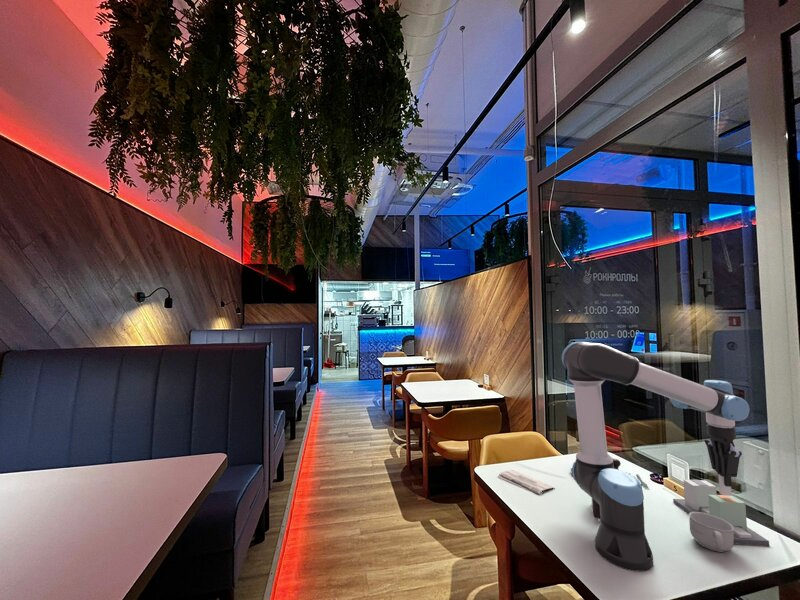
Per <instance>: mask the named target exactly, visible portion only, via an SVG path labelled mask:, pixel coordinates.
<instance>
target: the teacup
mask: <svg viewBox="0 0 800 600" xmlns="http://www.w3.org/2000/svg"><path fill="white" fill-rule="evenodd" d="M688 516H689V532H690V534H691V536H692V538H694V539H695V540H696V542H697V543H698V544H699V545H701V546H702V547H704V548H706V549H709V550H711V551H713V552H714V551H715V552H718V553H719V552H720V553H723V552H727V551H730V550H732V549H733V548H734V547H733V546H734V544H733V541H734V527H733V526H732V525H731V524H730V523H728V522H727V521H725V520H723V519H721V518H718V517H716V516H713V515H710V514H707V513H702V512H691V513H689V514H688Z"/></svg>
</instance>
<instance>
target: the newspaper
mask: <svg viewBox="0 0 800 600" xmlns="http://www.w3.org/2000/svg"><path fill="white" fill-rule="evenodd" d="M497 477H498V478H500V479H502V480H505V481H506V482H510V483H511V484H514V485H516V486H518V487H520V488H522V489H524V490H525V491H527V492H531V493H535V494H537V495H543V494H544V493H543V492H544V491H546V490H549V489H552V488H554V490H555V489H556V488H555V487H554V486H551V485H549V484H546V483H544V482H541V481H539V480H537V479H534V478H533V477H530V476H527V475H525V474H523V473H520V472H518V471H516V470H512V469H511V470H506V471H503V472H500V473H498V476H497ZM541 491H543V492H541Z"/></svg>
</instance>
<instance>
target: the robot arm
mask: <svg viewBox="0 0 800 600" xmlns="http://www.w3.org/2000/svg"><path fill="white" fill-rule="evenodd" d="M561 362H562V365H563V366H564V368H565V369H566V370H567V375H568V381H570V382H571V383H572V384H573V389H574V390H573V391H574V399H575V400H574V401H575V411H576V419H577V422H576V423H577V431H578V441H579V451H578V452H577V453H576V454H575V461H574V462H573V463H572V467H571V468H572V472H571V473H572V477H573V479H574V481H575V483H576V484H577V485H578V487H579V488H580V489H581V490H582V491H583V492H584V493H585V494H587V495H588V496H589V497H590V498H591V499H592V498H593V499H594V500H595V501H596V502H597V503H598V504H599V505H600V519H599V520H600V522H599V525H598V527H597V528H598V529H597V532H596V534H595V537H594V547H595V550H596V552H597V553H598V554H599V556H600V557H602V558H603V559H604V560H606V561H607V562H608V563H610V564H613V565H615V566H617V567H619V568H622V569H625V570H630V571H633V572H644V571H645V572H647V571H649V570H651V569H652V568H653V567H654V554H653V552H652V551H653V550H652V548H651V546H650V543H649V540H648V539H647V538H648V537H647V536H646V533H645V532H646V530H645V509H644V508H645V507H644V506H645V505H644V499H645V498H644V497H645V496H644V492H643V486H642V485H641V481H640V480H639V479H638V478H637V477H635V476H634V475H632V474H631V473H630V472H627V471H626V472H625V471H623V470H622V469H619V468H618V469H619V470H618V469H614V462H613V459H614V458H613V457H612V456H611V455H610V454H609V453H608V445H607V435H606V426H605V425H606V423H605V416H604V413H605V412H604V406H603V405H604V404H603V396H602V385H603V383H604V382H605V381H610V382H611V381H612V382H615V383H619V384H621V385H625V386H629V385H633V386H636V387H638V388H641V389H644V390H646V391H649V392H652V393H654V394H658V395H661V396H662V397H666V398H668V399H669V401H670V403H671V404H672V405H673V407H675V408H677V409H684V410H687V409H692V410H695V411H699V412H702V413H705V422H706V423H707V424H706V433H707V435H708V436H709V439H704V443H705V445H706V448H707V453H708V456H709V461H710V465H711V469H712V470H715V472H716V473H717V482H718V488H719V489H718V490H719V495H727V496H733V494H732V478H737V476H738V473H739V472H738V471H739V467H740V466H739V465H740V459H741V457H742V455H743V452H742V451H740V450H737V449H736V448H735V447H736V445H735V443H734V440H736V438H737V430H736V427H735V426H736V422H740V421H744V420H745V419H747V417H749V414H750V405H749V403H748V402H747V401H746V399H744V398H742V397H739V396H736V395H734V394H735V393H734V389H733V385H732V383H731V382H728V381H726V380H718V379H705V380H704V381H703V384H701V383H697V382H695V381H692V380H689V379H686V378H683V377H681V376H679V375H676V374H672V373H671V372H667V371H665V370H663V369H660V368H657V367H653V366H651V365H649V364H645V363H643V362H640V361H639V359H638V358H637V357H636V356H633V355H630V354H627V353H625V352H623V351H621V350H619V349H616V348H613V347H612V346H610V345H609V346H608V345H606V344H603V343H598V342H588V341H575V342H572V343H569V344H568V345H567V346H566V347H565V348H564V349H563V351H562V354H561ZM629 473H630V474H629Z"/></svg>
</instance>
